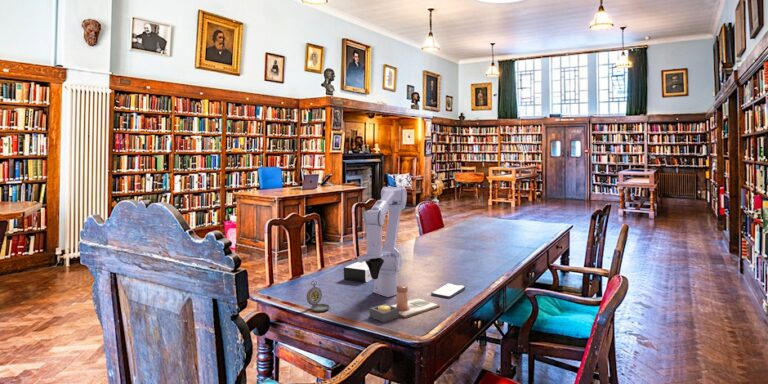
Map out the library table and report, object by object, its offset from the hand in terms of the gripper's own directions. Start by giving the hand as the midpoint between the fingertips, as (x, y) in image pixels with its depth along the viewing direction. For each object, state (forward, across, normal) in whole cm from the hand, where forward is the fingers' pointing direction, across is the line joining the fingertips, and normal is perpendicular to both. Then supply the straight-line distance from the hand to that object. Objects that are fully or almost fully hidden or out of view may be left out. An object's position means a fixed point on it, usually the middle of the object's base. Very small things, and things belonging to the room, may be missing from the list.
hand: (374, 278), depth 166 cm
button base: (+10, -5, -11) cm, 16 cm away
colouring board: (+10, +8, -11) cm, 17 cm away
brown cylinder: (+10, +4, -11) cm, 15 cm away
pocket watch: (+11, -17, +12) cm, 23 cm away
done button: (+10, -5, -11) cm, 16 cm away
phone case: (+11, +34, -7) cm, 36 cm away
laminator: (+11, +30, +38) cm, 50 cm away
